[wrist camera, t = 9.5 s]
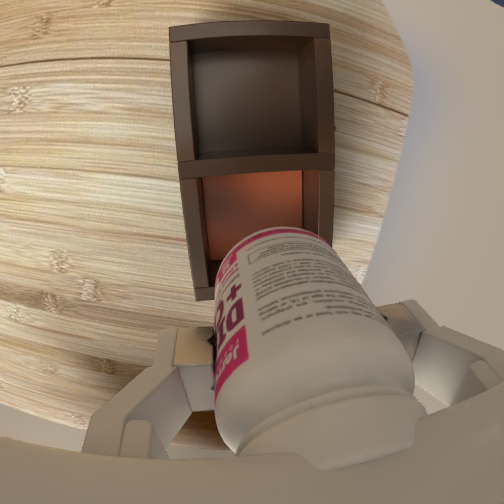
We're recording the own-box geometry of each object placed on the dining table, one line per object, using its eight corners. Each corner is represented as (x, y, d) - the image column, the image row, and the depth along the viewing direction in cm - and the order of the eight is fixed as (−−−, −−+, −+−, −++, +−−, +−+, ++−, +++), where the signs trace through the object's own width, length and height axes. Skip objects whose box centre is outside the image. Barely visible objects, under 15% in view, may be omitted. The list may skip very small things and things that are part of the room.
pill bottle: (203, 234, 11) (183, 473, 3) (338, 214, 11) (503, 386, 3) (225, 342, 13) (240, 545, 5) (337, 322, 13) (423, 499, 5)
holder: (178, 43, 18) (168, 26, 14) (308, 39, 19) (329, 23, 14) (198, 269, 25) (195, 301, 21) (312, 259, 26) (329, 288, 21)
